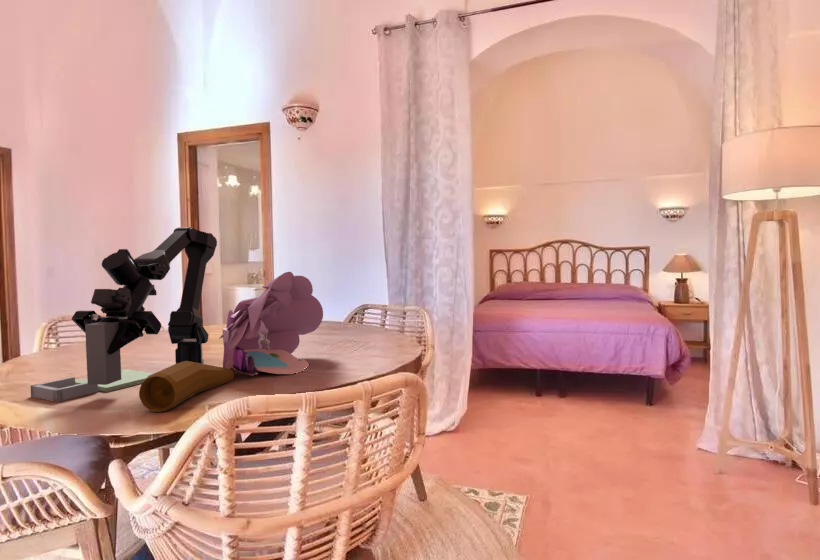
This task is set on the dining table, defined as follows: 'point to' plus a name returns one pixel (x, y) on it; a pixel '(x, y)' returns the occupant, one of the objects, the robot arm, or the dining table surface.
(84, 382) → the two-tone flat tray
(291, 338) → the flower arrangement
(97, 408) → the dining table surface
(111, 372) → the chute block
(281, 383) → the dining table surface
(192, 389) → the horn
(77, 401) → the dining table surface
